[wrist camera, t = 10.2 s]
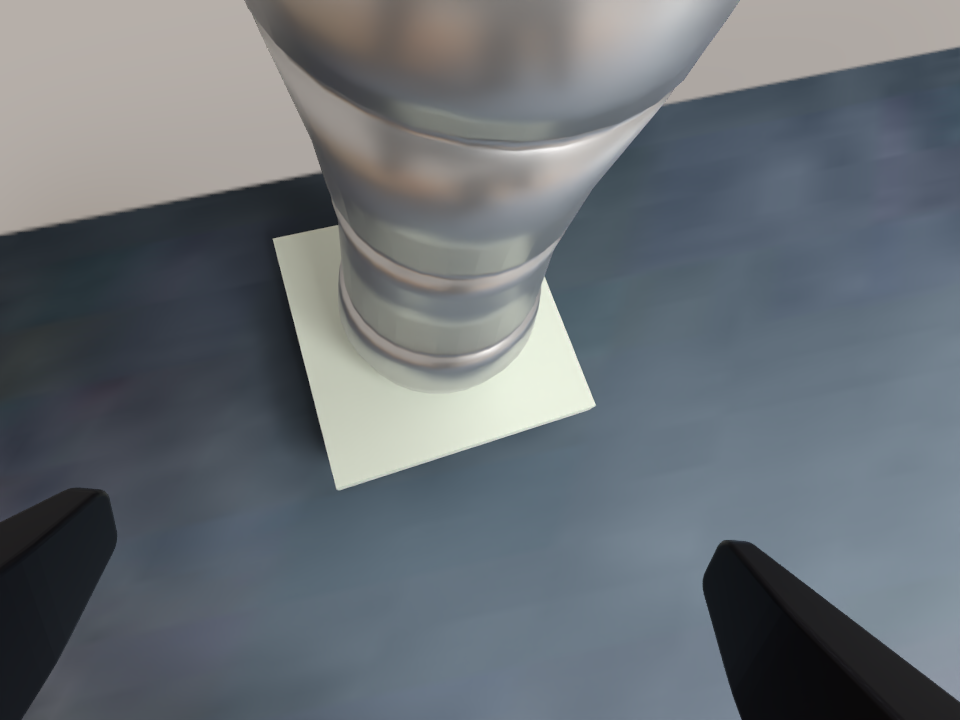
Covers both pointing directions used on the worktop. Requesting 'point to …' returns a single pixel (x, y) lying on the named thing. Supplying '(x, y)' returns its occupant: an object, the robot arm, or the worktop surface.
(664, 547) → the worktop surface
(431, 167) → the plastic bottle
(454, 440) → the plate
